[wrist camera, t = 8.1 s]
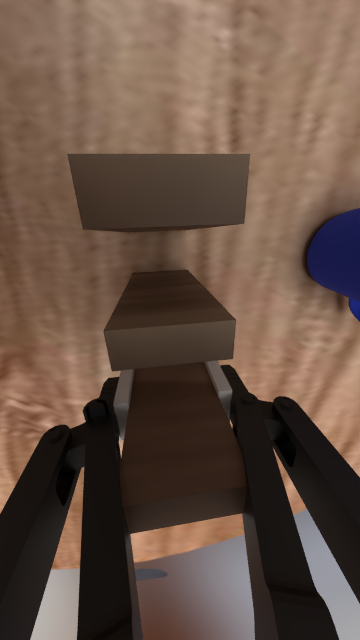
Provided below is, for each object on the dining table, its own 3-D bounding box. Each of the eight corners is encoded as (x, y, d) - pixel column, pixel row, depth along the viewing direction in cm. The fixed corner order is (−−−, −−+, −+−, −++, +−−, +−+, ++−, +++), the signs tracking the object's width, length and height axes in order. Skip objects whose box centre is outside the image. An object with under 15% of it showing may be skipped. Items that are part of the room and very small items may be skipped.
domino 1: (124, 207, 16) (67, 153, 5) (186, 206, 17) (250, 154, 6) (127, 232, 17) (83, 229, 6) (186, 229, 17) (244, 223, 6)
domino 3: (193, 352, 19) (249, 511, 8) (140, 357, 19) (121, 535, 8) (193, 335, 18) (255, 484, 7) (138, 340, 18) (114, 508, 7)
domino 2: (133, 273, 18) (103, 331, 7) (187, 269, 19) (235, 319, 8) (135, 292, 19) (111, 371, 8) (187, 288, 20) (232, 358, 9)
